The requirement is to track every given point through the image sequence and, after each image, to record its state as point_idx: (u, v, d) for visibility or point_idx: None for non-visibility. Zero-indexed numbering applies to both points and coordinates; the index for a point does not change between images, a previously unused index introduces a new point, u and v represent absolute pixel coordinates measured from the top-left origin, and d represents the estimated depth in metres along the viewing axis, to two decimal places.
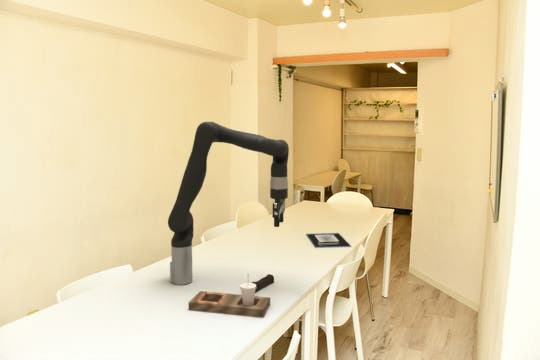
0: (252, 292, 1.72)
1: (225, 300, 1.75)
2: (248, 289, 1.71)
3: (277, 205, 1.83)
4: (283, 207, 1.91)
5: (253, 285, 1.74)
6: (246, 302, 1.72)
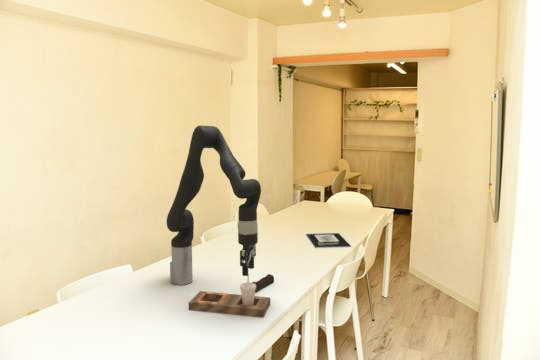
0: (252, 292, 1.72)
1: (225, 300, 1.75)
2: (248, 289, 1.71)
3: (245, 253, 1.65)
4: (253, 253, 1.73)
5: (253, 285, 1.74)
6: (246, 302, 1.72)
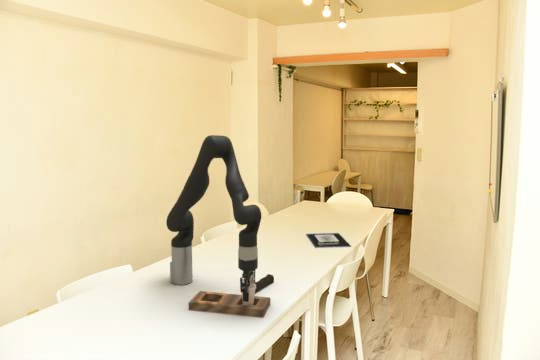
0: (252, 292, 1.72)
1: (225, 300, 1.75)
2: None
3: (245, 280, 1.66)
4: (253, 278, 1.74)
5: (253, 285, 1.74)
6: (246, 302, 1.72)
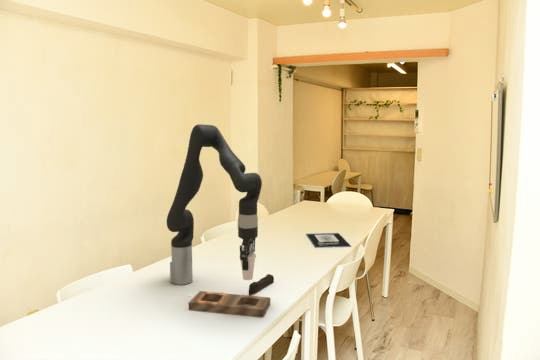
0: (252, 261, 1.70)
1: (225, 300, 1.75)
2: None
3: (245, 248, 1.65)
4: (252, 247, 1.73)
5: (253, 254, 1.72)
6: (245, 271, 1.71)
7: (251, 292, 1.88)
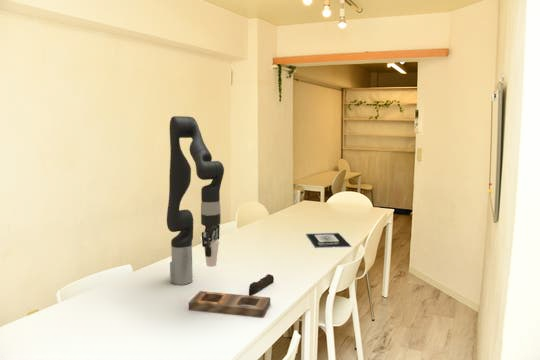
0: (215, 247, 1.73)
1: (225, 300, 1.75)
2: None
3: (206, 235, 1.68)
4: (216, 234, 1.76)
5: (216, 241, 1.75)
6: (208, 258, 1.73)
7: (251, 292, 1.88)
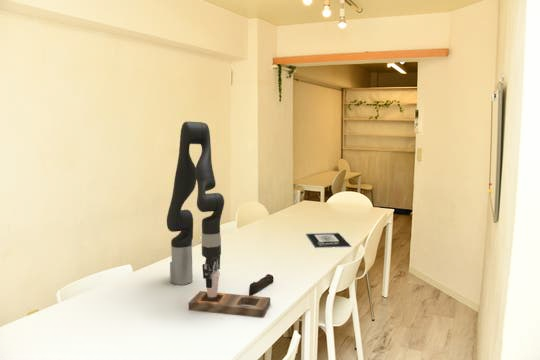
0: (215, 279, 1.75)
1: (225, 300, 1.75)
2: None
3: (207, 267, 1.69)
4: (216, 265, 1.77)
5: (217, 272, 1.77)
6: (209, 289, 1.75)
7: (251, 292, 1.88)
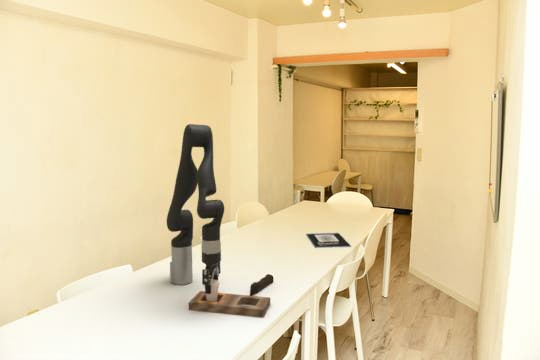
0: (215, 289, 1.75)
1: (225, 300, 1.75)
2: (211, 286, 1.74)
3: (207, 272, 1.69)
4: (217, 271, 1.78)
5: (216, 282, 1.77)
6: (209, 299, 1.76)
7: (252, 292, 1.88)
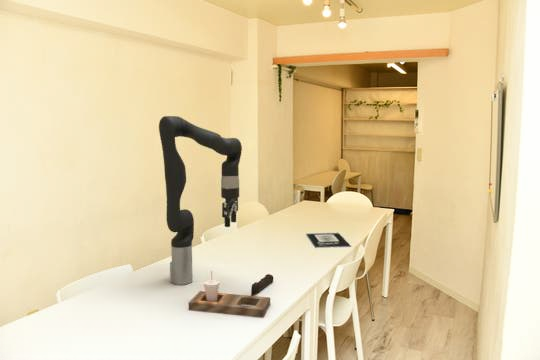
0: (215, 289, 1.75)
1: (225, 300, 1.75)
2: (211, 286, 1.74)
3: (227, 205, 1.79)
4: (235, 207, 1.87)
5: (216, 282, 1.77)
6: (209, 299, 1.76)
7: (253, 293, 1.88)
